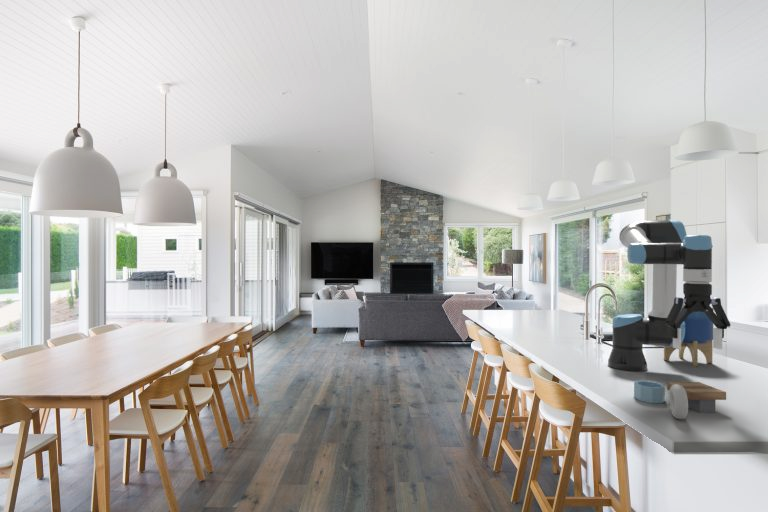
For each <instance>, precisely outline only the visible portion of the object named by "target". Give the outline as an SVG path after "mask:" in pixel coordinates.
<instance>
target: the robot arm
mask: <svg viewBox="0 0 768 512" xmlns="http://www.w3.org/2000/svg"><path fill="white" fill-rule="evenodd" d="M618 237H619V240H620V243H621V244H622V246H624V247H625V248H627V261H628V263H629V264H635V265H652V303H651V304H652V309H651V311H649V312H648V314H647V316H648V317H644V316H643V314H639V313H626V314H618V315H615V316H614V317H613V319H612V325H611V328H612V349H611V352H610V355H609V358H608V360H607V362H608V363H607V365H608V366H609V367H610V368H614V369H617V370H623V371H628V372H630V371H631V372H644V371H645V372H646V371H647V370H648V362H647V359H646V357H645V353H644V351H643V350H644V349H643V345H647V346H662V347H664V346H666V347H669V346H673V348H676V350H679V349H681V343H682V342H683V339H684V335H685V322H684V320H685V319H686V318H687V317H688V316H689V314H690V313H692V312H699V311H700V312H704V313H705V314H706V315H707V316H708V318H709V319H710V320H711V321H712V323H713V326H715V327H713V340H712V349H713V348H714V349H717V350H723V339H724V338H725V330H727V329H728V328H729V327H731V322H730V320H729V317H728V316H727V314H726V312H725V310H724V307H723V305H722V299H721V298H720V297H711V296H712V294H713V285H712V283H711V282H712V281H713V278H712V277H713V275H712V274H713V273H712V272H713V270H712V267H713V265H712V264H713V260H712V259H713V257H712V256H713V255H712V254H713V242H712V241H713V240H712V237H711V236H710V235H708V234H705V235H704V234H693V235H687V231H686V227H685V225H684V224H683V222H682V221H680V220H678V219H677V220H676V219H663V220H662V219H661V220H638V221H634V222H631V223H629V224H628V225H626V226H624V227H622V228H621V231H620V233H619V236H618ZM678 265H683V271H682V274H683V275H682V281H683V282H684V283H682V284H683V286H682V289H683V290H682V291H683V292H682V293H683V295H684V297H677V280H678V279H677V274H678V273H677V272H678V271H677V267H678ZM683 304H685V306H684V307H683V308H682V306H683ZM710 305H711V307H713V309H712V308H711V307H710ZM681 308H682V311H681V312H680V310H681ZM679 312H680V313H679Z"/></svg>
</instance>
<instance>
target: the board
mask: <svg viewBox="0 0 768 512" xmlns="http://www.w3.org/2000/svg"><path fill="white" fill-rule="evenodd" d="M666 382H667V383H666V386H667V389H666V390H668V391H669V390H670V388H671V386H672V385H674V384H678V385H681V386H682V387H683V388H684V389H685V391H686V394H687V398H688V399H691V400H715V401H726V400H727V391H724V390H721V389H719V388H716V387H715V386H710V385H708V384H705V383H703V382H700V381H686V382H685V381H679V382H678V381H666Z"/></svg>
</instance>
